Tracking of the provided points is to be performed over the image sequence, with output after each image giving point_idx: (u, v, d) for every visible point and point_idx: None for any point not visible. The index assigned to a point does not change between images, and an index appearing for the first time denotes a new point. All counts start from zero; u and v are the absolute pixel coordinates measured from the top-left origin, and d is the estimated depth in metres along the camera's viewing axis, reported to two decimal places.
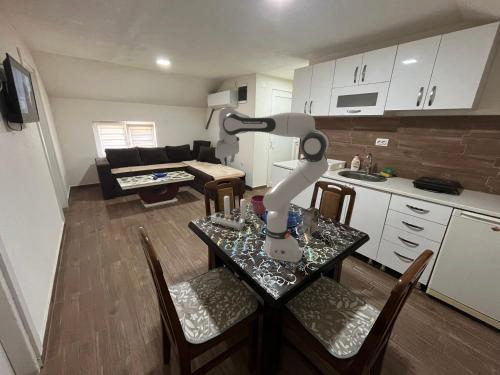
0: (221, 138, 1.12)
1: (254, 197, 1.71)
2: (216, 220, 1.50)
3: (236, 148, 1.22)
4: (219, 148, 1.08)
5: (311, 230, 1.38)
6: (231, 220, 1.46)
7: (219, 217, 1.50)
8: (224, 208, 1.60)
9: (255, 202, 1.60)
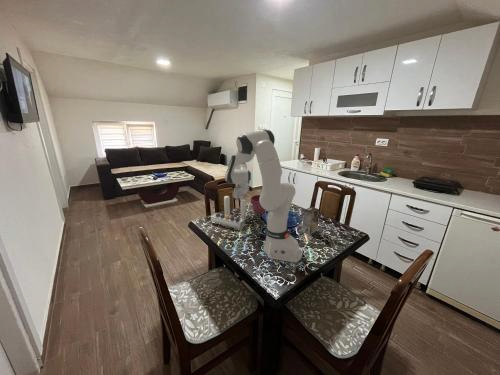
0: (237, 183, 1.59)
1: (254, 197, 1.71)
2: (216, 220, 1.50)
3: (247, 188, 1.69)
4: (236, 192, 1.55)
5: (311, 230, 1.38)
6: (231, 220, 1.46)
7: (219, 217, 1.50)
8: (224, 208, 1.61)
9: (255, 202, 1.60)
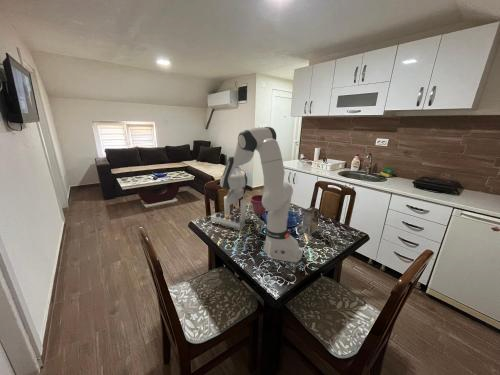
0: (230, 189, 1.50)
1: (254, 197, 1.71)
2: (216, 220, 1.50)
3: (241, 193, 1.60)
4: (229, 197, 1.46)
5: (311, 230, 1.38)
6: (231, 220, 1.46)
7: (219, 217, 1.50)
8: (224, 208, 1.60)
9: (255, 202, 1.60)
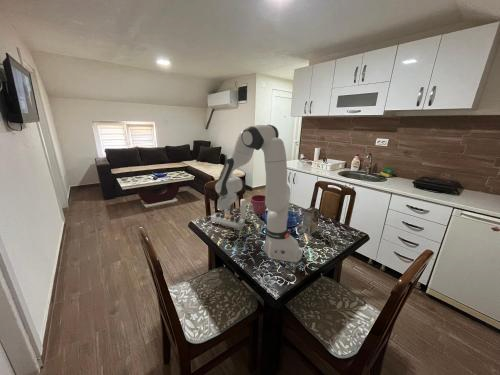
0: None
1: (254, 197, 1.71)
2: (216, 220, 1.50)
3: (234, 198, 1.51)
4: (220, 203, 1.36)
5: (311, 230, 1.38)
6: (231, 220, 1.46)
7: (219, 217, 1.50)
8: None
9: (255, 202, 1.60)
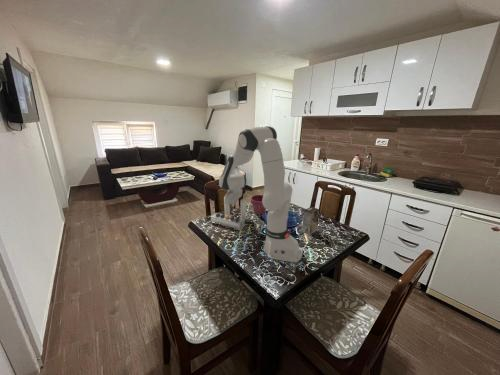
0: (229, 189, 1.49)
1: (254, 197, 1.71)
2: (216, 220, 1.50)
3: (240, 193, 1.59)
4: (228, 198, 1.45)
5: (311, 230, 1.38)
6: (231, 220, 1.46)
7: (219, 217, 1.50)
8: (224, 208, 1.60)
9: (255, 202, 1.60)
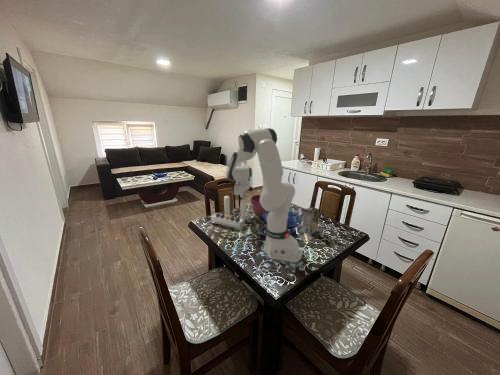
0: (238, 181, 1.58)
1: (254, 197, 1.71)
2: (216, 220, 1.50)
3: (248, 185, 1.68)
4: (237, 189, 1.54)
5: (311, 230, 1.38)
6: (231, 220, 1.46)
7: (219, 217, 1.50)
8: (224, 208, 1.60)
9: (255, 202, 1.60)
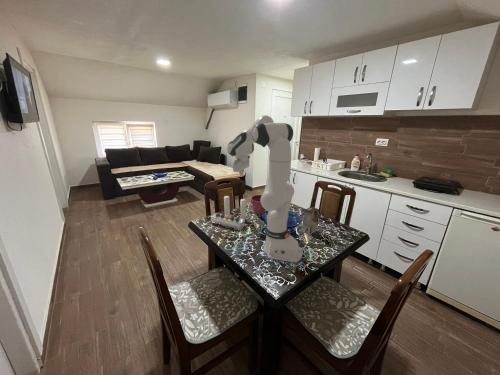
0: (237, 157, 1.52)
1: (254, 197, 1.71)
2: (216, 220, 1.50)
3: (247, 163, 1.63)
4: (236, 165, 1.48)
5: (311, 230, 1.38)
6: (231, 220, 1.46)
7: (219, 217, 1.50)
8: (224, 208, 1.60)
9: (255, 202, 1.60)
